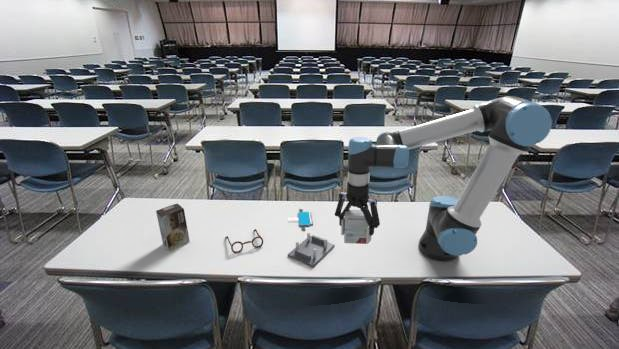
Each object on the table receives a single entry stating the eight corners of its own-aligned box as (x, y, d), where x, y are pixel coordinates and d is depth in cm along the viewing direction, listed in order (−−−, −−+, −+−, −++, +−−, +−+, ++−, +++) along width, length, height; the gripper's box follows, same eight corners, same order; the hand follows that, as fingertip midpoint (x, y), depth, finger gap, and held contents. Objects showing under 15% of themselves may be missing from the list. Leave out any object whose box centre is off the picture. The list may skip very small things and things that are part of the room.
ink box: (367, 237, 123) (368, 209, 118) (367, 244, 118) (369, 216, 114) (344, 236, 123) (344, 208, 119) (344, 243, 119) (344, 215, 114)
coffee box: (183, 235, 141) (177, 202, 135) (190, 242, 137) (184, 208, 131) (162, 244, 135) (155, 210, 129) (168, 251, 131) (161, 216, 125)
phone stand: (287, 210, 163) (287, 207, 163) (311, 209, 164) (311, 207, 163) (288, 232, 145) (288, 229, 144) (315, 231, 146) (315, 228, 145)
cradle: (334, 246, 134) (334, 236, 132) (313, 267, 122) (313, 256, 120) (310, 237, 140) (310, 227, 138) (287, 256, 128) (287, 245, 126)
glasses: (232, 255, 129) (231, 244, 127) (225, 238, 140) (224, 228, 138) (263, 246, 135) (263, 236, 133) (254, 231, 145) (254, 221, 143)
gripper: (393, 185, 109) (388, 241, 117) (335, 172, 120) (334, 224, 129) (384, 193, 103) (380, 252, 112) (325, 179, 115) (325, 233, 123)
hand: (355, 237), depth 120 cm, fingers closed on ink box, 9 cm apart
